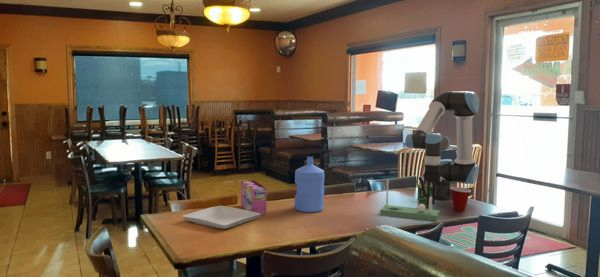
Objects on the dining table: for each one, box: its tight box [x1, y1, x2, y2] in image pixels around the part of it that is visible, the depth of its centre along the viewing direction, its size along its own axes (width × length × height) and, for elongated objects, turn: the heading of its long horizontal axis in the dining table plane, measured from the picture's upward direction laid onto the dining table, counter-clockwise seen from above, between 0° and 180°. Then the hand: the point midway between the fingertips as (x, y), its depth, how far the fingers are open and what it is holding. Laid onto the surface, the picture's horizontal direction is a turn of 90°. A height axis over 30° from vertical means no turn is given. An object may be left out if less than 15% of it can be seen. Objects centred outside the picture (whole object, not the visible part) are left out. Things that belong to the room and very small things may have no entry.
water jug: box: [293, 156, 325, 213], centre depth 250 cm, size 16×16×28 cm
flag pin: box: [385, 179, 389, 206], centre depth 250 cm, size 4×1×14 cm, turn 158°
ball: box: [417, 204, 427, 212], centre depth 239 cm, size 4×4×4 cm
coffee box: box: [416, 183, 434, 209], centre depth 258 cm, size 8×3×13 cm, turn 92°
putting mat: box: [379, 204, 440, 222], centre depth 243 cm, size 12×28×2 cm, turn 68°
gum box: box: [240, 180, 268, 216], centre depth 248 cm, size 24×8×14 cm, turn 22°
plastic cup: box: [450, 186, 472, 213], centre depth 254 cm, size 11×11×12 cm
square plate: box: [181, 205, 261, 230], centre depth 225 cm, size 27×27×4 cm
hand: (430, 210), depth 238 cm, fingers closed
